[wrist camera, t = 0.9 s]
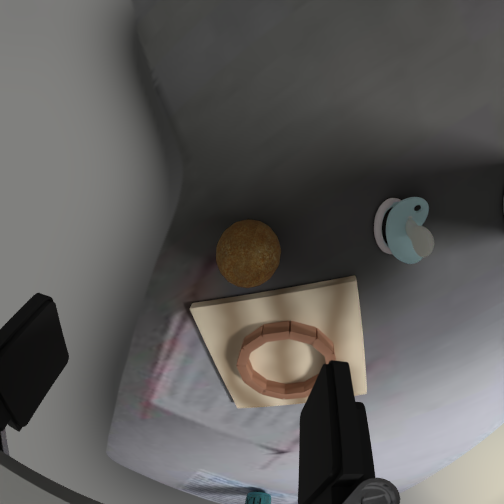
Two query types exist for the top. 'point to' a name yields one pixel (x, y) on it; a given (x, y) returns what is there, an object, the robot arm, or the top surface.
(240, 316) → the ring board
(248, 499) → the beverage bottle
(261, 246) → the fruit
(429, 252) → the pacifier
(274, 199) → the top surface
